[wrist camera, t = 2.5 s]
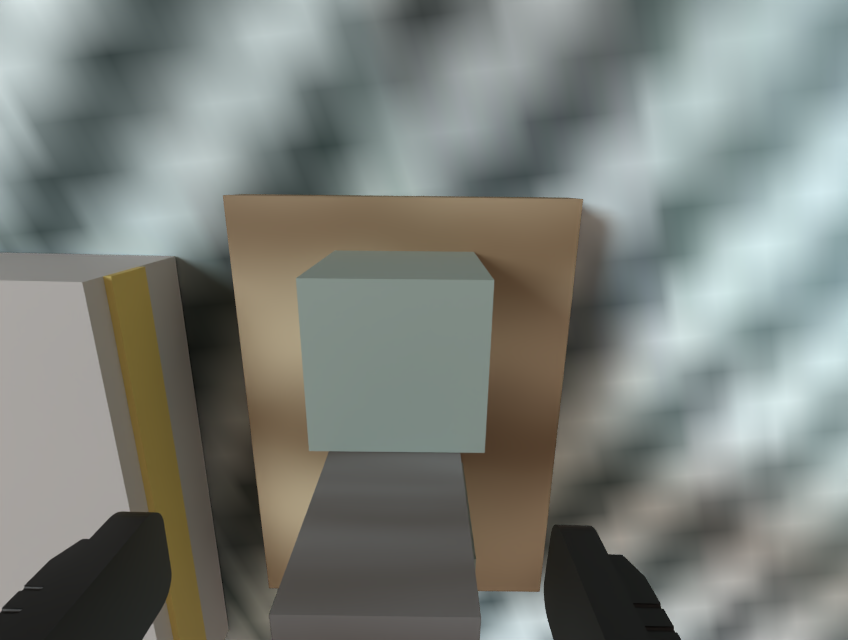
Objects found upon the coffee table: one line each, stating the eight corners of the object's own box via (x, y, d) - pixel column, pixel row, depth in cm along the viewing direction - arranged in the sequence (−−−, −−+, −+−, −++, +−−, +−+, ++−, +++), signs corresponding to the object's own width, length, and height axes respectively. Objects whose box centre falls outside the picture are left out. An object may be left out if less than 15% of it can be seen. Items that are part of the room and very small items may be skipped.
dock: (181, 256, 14) (90, 282, 10) (234, 633, 19) (184, 746, 15) (-196, 248, 14) (-423, 271, 11) (-50, 627, 19) (-170, 738, 15)
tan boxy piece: (250, 193, 14) (-109, 213, 5) (561, 197, 14) (840, 222, 5) (285, 546, 18) (131, 939, 9) (527, 548, 18) (638, 947, 9)
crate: (334, 250, 13) (296, 278, 9) (474, 251, 13) (494, 280, 9) (341, 377, 14) (308, 451, 10) (468, 379, 14) (484, 452, 10)
